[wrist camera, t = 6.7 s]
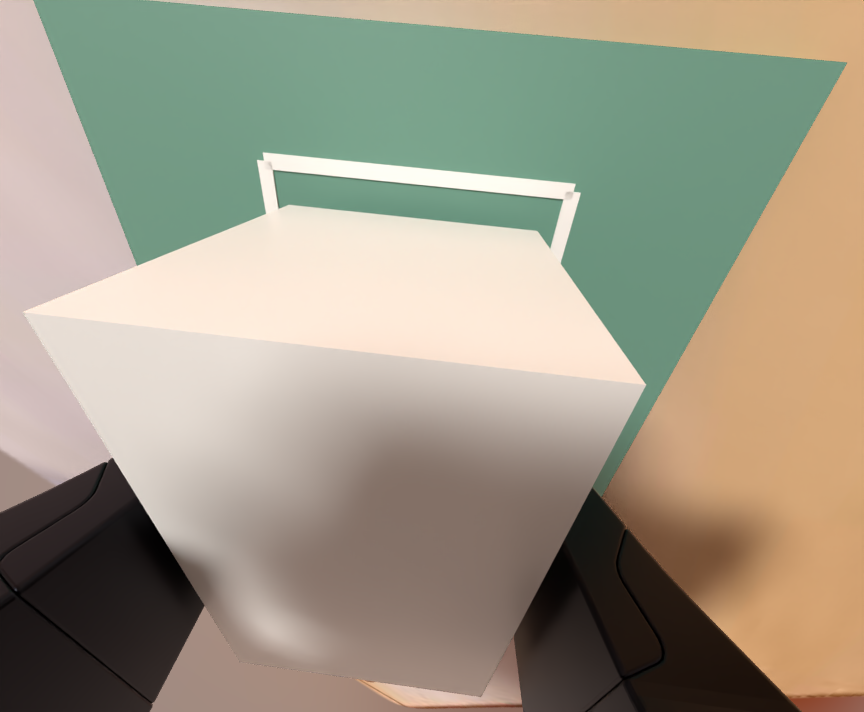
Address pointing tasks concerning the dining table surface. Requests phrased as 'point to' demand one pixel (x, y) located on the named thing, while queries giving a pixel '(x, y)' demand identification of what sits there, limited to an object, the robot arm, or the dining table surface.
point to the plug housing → (353, 430)
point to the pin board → (446, 143)
